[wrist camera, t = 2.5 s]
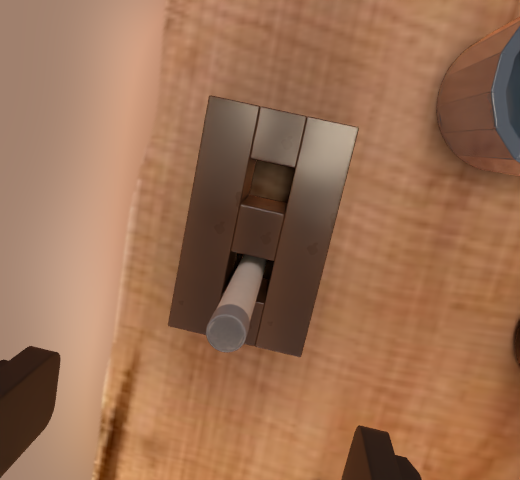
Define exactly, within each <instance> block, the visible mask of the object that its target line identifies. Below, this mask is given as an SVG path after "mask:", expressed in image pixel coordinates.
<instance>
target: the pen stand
mask: <svg viewBox="0 0 520 480" xmlns="http://www.w3.org/2000/svg"><path fill="white" fill-rule="evenodd" d="M358 129H359V128H358V127H354V126H350V125H345V124H340V123H336V122H331V121H326V120H322V119H317V118H313V117H306V116H303V115H298V114H294V113H289V112H285V111H280V110H275V109H271V108H266V107H260V106H257V105H252V104H248V103H243V102H238V101H234V100H229V99H224V98H220V97H215V96H209V100H208V105H207V111H206V116H205V122H204V128H203V133H202V139H201V144H200V150H199V155H198V161H197V166H196V172H195V178H194V183H193V189H192V194H191V200H190V205H189V211H188V216H187V222H186V228H185V233H184V239H183V244H182V250H181V255H180V261H179V266H178V272H177V278H176V283H175V289H174V294H173V300H172V305H171V311H170V316H169V322H168V326H170V327H175V328H179V329H183V330H187V331H192V332H196V333H200V334H204V335H206V328H207V325H208V323H209V321H210V319H211V317H212V315H213V313H214V312H215V310H216V309H217V307H218V305H219V303H220V301H221V299H222V297H223V295H224V293H225V291H226V289H227V287H228V285H229V283H230V281H231V279H232V277H233V275H234V273H235V272H233V270H234V265H235V260H236V255H237V253H241V254H245V255H250V256H254V257H258V258H263V259H267V260H272V261H274V265H273V269H272V273H271V278H270V280H268V279H264V278H262V281H261V284H260V288H259V291H258V295H257V298H256V302H255V306H254V309H253V313H252V316H251V320H250V325H249V330H248V333H247V337H246V340H245V342H244V344H247V345H252V346H255V347H259V348H263V349H268V350H272V351H276V352H280V353H284V354H289V355H293V356H297V357H301V355H302V351H303V347H304V343H305V339H306V336H307V332H308V328H309V324H310V320H311V316H312V312H313V308H314V304H315V300H316V296H317V292H318V288H319V284H320V280H321V276H322V272H323V268H324V264H325V260H326V256H327V252H328V248H329V244H330V240H331V236H332V232H333V228H334V225H335V221H336V217H337V213H338V209H339V205H340V201H341V197H342V193H343V189H344V185H345V181H346V177H347V173H348V169H349V165H350V161H351V157H352V153H353V149H354V145H355V141H356V137H357V133H358ZM256 160H260V161H265V162H270V163H274V164H279V165H283V166H288V167H292V168H295V167H296V168H295V172H294V177H293V181H292V185H291V190H290V194H289V199H288V203H284V202H280V201H275V200H271V199H266V198H262V197H258V196H253V195H249V193H250V188H251V183H252V178H253V174H254V169H255V164H256Z"/></svg>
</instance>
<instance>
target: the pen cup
mask: <svg viewBox="0 0 520 480" xmlns="http://www.w3.org/2000/svg"><path fill="white" fill-rule="evenodd" d="M437 119H438V124H439V128H440V131H441V134H442V136H443V138H444V140H445V142H446V144H447V145H448V146H449V148H450V149H451V150H452V151H453V152H454V153H455V154H456V155H457V156H458V157H459V158H460V159H461V160H463V161H464V162H466V163H468V164H469V165H471V166H474V167H476V168H478V169H481V170H487V171H492V172H498V173H504V174H511V175H517V176H520V17H518V18H516V19H514V20H513V21H511V22H509V23H507V24H506V25H504V26H502V27H500V28H499V29H497V30H495V31H493V32H492V33H490V34H488V35H486V36H485V37H484V38H482V39H481V40H479V41H478V42H476V43H475V44H473V45H471V46H470V47H469V48H468V49H466V50H465V51H464V52H463V53H462V54H461V55H460V56H459V57H458V58H457V59H456V60H455V61H454V63H453V64H452V65H451V66H450V68H449V70H448V71H447V73H446V75H445V77H444V79H443V81H442V84H441V87H440V90H439V94H438V100H437Z"/></svg>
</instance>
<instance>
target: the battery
mask: <svg viewBox="0 0 520 480" xmlns="http://www.w3.org/2000/svg"><path fill="white" fill-rule="evenodd" d="M515 348H516V356H517V360H518V362H519V365H520V326H519V329H518V332H517V336H516V343H515Z"/></svg>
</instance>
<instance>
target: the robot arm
mask: <svg viewBox="0 0 520 480" xmlns="http://www.w3.org/2000/svg"><path fill="white" fill-rule="evenodd" d="M59 368H60V355H59V353H57V352H53V351H49V350H45V349H41V348H37V347H33V346H29V347H27V348H26V349H25V350H23V351H22V352H20V353H19V354H18V355H16V356H15V357H13V358H12V359H11V360H9V361H7V360H1V361H0V478H1V476H2V475H3V474H4V473H5V472H6V471H7V470H8V469H9V468H10V467H11V465H12V464H13V463H14V462H15V461H16V460H17V459H18V458H19V457H20V456H21V454H22V453H23V452H24V451H25V450H26V449H27V448H28V447H29V446H30V444H31V443H32V442H33V441H34V440H35V439H36V438H37V437H38V436H39V435H40V433H41V432H42V431H43V430H44V429H45V427H46V426H47V424H48V423H49V420H50V419H51V416H52V413H53V411H54V406H55V400H56V392H57V383H58V375H59ZM342 480H421V477H420V474H419V473H418V471H417V470H416V469H415V468H414V467H413V465H412V464H411V463H410V462H409V460H408V459H407V458H406V457H401V456H397V455H395V453H394V450H393V446H392V443H391V440H390V436H389V434H388V432H385V431H381V430H376V429H372V428H368V427H364V426H358V427H357V428H356V431H355V434H354V437H353V441H352V444H351V448H350V451H349V455H348V458H347V462H346V465H345V469H344V472H343V476H342Z"/></svg>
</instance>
